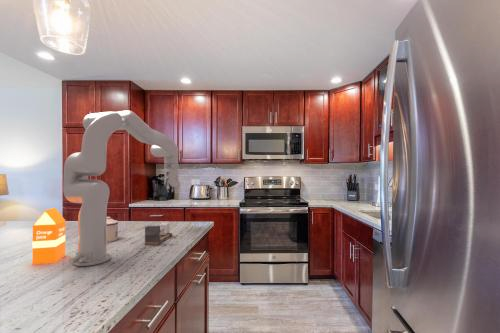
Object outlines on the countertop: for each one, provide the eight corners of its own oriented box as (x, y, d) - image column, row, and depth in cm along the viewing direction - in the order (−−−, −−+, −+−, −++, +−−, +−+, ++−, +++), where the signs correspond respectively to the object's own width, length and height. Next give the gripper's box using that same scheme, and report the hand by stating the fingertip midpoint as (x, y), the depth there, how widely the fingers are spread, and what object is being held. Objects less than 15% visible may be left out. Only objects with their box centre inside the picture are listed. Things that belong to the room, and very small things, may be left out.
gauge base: (157, 245, 122) (157, 227, 122) (144, 245, 122) (145, 227, 122) (172, 235, 140) (172, 219, 140) (161, 235, 140) (161, 219, 140)
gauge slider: (166, 236, 132) (166, 224, 132) (155, 235, 132) (155, 223, 132) (170, 233, 138) (170, 221, 138) (160, 232, 138) (160, 221, 138)
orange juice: (31, 264, 98) (32, 211, 98) (43, 256, 106) (44, 207, 106) (56, 262, 100) (56, 210, 100) (65, 255, 108) (66, 207, 109)
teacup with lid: (120, 240, 131) (120, 217, 131) (99, 243, 125) (100, 219, 125) (114, 235, 140) (114, 214, 140) (94, 238, 134) (95, 216, 134)
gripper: (172, 166, 139) (172, 200, 139) (182, 166, 154) (182, 197, 153) (159, 166, 139) (159, 200, 139) (170, 166, 154) (170, 197, 154)
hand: (171, 199), depth 146 cm, fingers closed
